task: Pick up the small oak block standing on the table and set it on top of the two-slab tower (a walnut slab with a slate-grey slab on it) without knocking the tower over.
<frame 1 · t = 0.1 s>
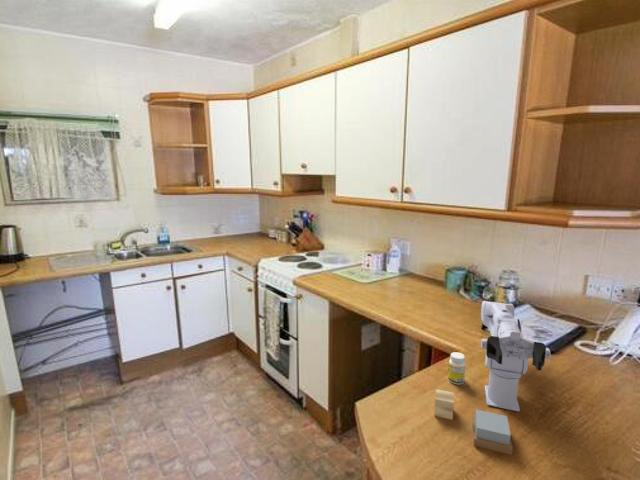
hand: (519, 362, 80), 22 cm above the worktop, tool horizontal, fingers open, 7 cm apart
slate slab: (491, 431, 87), point 2 cm above the worktop, touching walnut slab
oak block: (443, 412, 96), on the worktop
supplement bottle: (455, 381, 111), on the worktop
walnut slab: (490, 440, 87), on the worktop, touching slate slab
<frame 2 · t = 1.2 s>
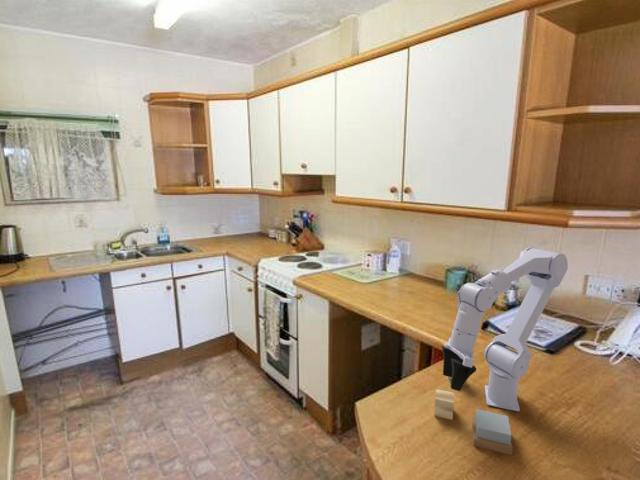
hand: (451, 382, 91), 11 cm above the worktop, tool tilted 15°, fingers open, 7 cm apart
nothing on the worktop moved.
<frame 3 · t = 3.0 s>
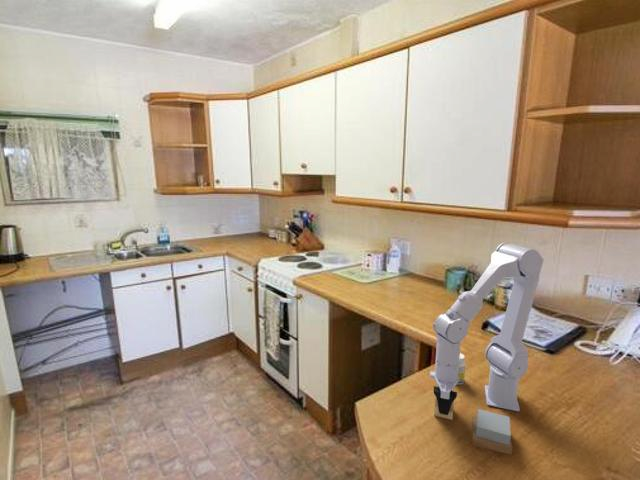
hand: (443, 407, 96), 1 cm above the worktop, tool pointing down, fingers closed on oak block, 4 cm apart
oak block: (443, 412, 96), on the worktop, touching gripper
everything else where it was.
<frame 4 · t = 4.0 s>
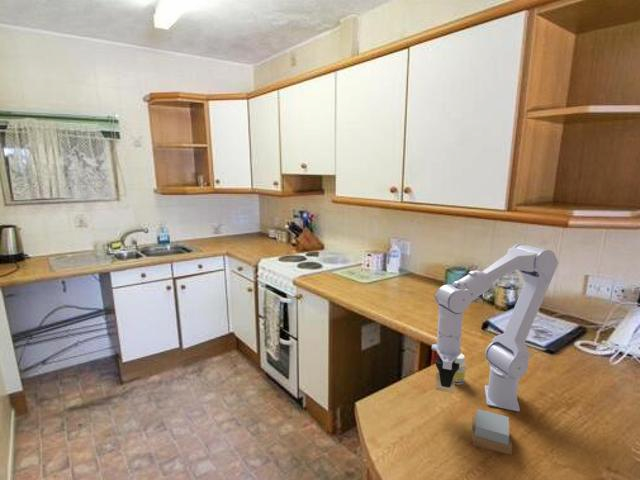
hand: (445, 380, 95), 9 cm above the worktop, tool pointing down, fingers closed on oak block, 4 cm apart
oak block: (445, 386, 95), point 7 cm above the worktop, touching gripper
everything else where it was.
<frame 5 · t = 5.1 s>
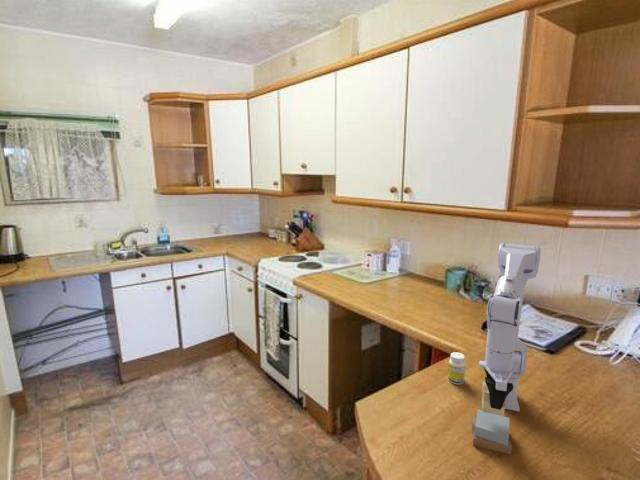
hand: (494, 401, 85), 10 cm above the worktop, tool pointing down, fingers closed on oak block, 4 cm apart
oak block: (492, 407, 86), point 8 cm above the worktop, touching gripper
everything else where it was.
when the fingers open (7 cm above the worktop, at t = 6.0 s): oak block drops 1 cm, point 4 cm above the worktop.
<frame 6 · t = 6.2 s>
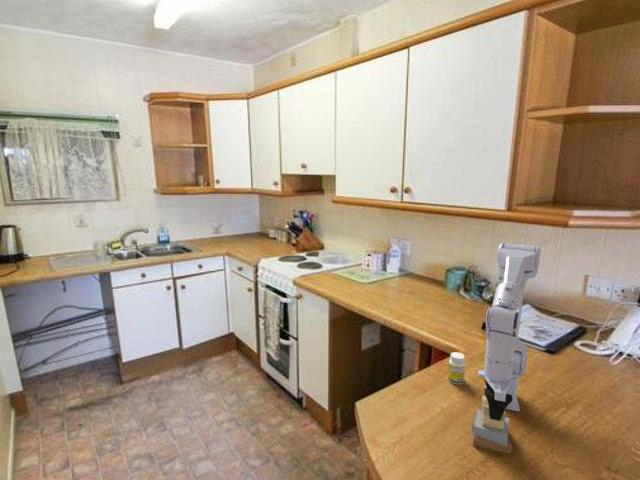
hand: (493, 410, 86), 7 cm above the worktop, tool pointing down, fingers open, 6 cm apart
oak block: (492, 421, 86), point 4 cm above the worktop
everything else where it was.
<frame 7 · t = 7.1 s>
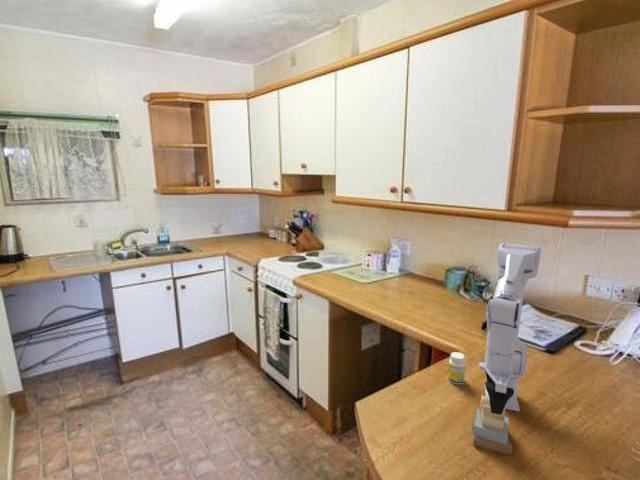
hand: (494, 402, 85), 9 cm above the worktop, tool pointing down, fingers open, 7 cm apart
slate slab: (490, 430, 87), point 2 cm above the worktop, touching oak block, walnut slab
oak block: (490, 421, 86), point 4 cm above the worktop, touching slate slab
everything else where it was.
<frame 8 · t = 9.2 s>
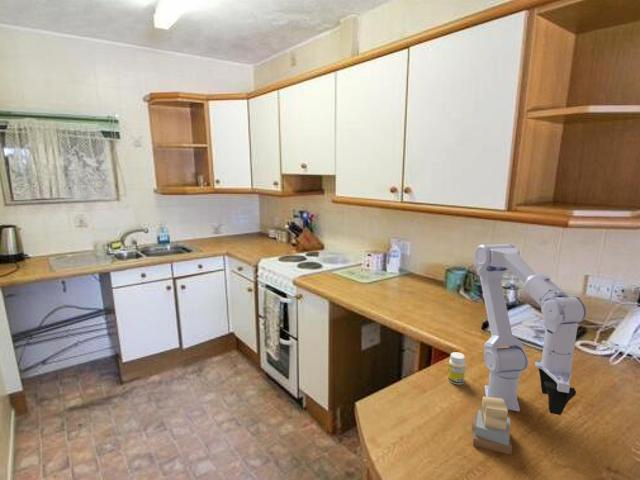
hand: (550, 403, 84), 10 cm above the worktop, tool pointing down, fingers open, 7 cm apart
nothing on the worktop moved.
at the end: oak block 0.0 cm off-centre on the slate slab, point 2.5 cm above the slate slab's base; oak block tilted 1°; slate slab moved 0.6 cm from its start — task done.
